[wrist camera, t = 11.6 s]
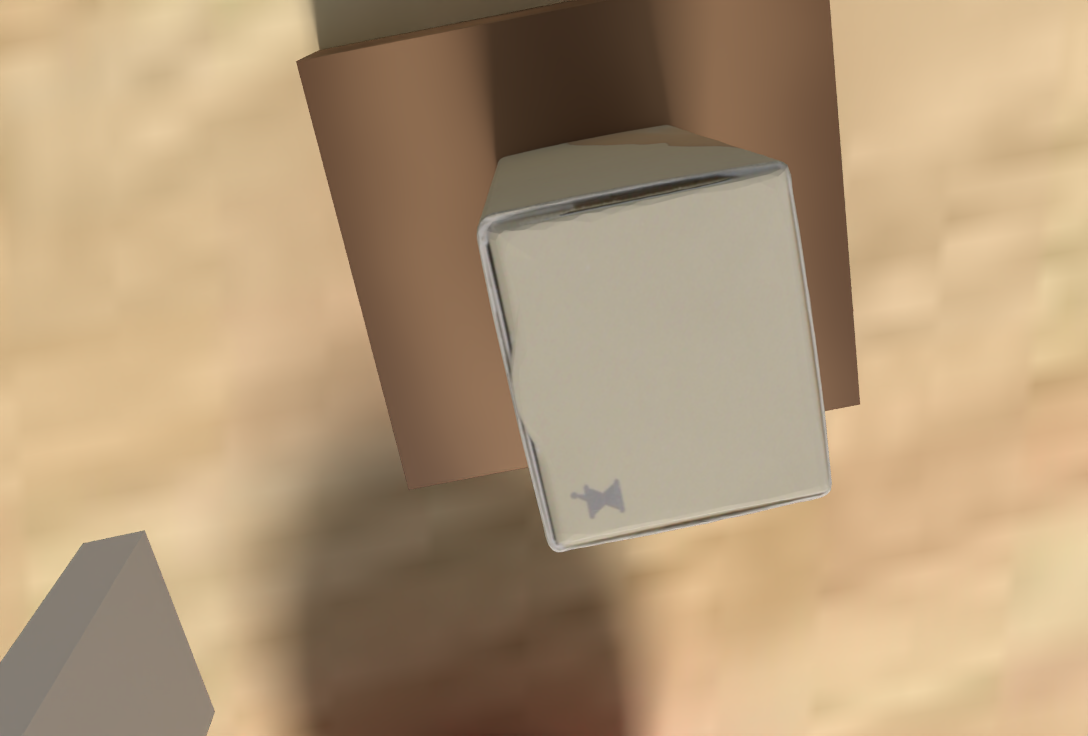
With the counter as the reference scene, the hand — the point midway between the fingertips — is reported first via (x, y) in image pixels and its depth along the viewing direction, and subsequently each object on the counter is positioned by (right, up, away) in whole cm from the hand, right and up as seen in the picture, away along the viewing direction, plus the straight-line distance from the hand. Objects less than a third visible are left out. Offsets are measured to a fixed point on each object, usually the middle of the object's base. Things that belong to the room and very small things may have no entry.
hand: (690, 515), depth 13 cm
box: (0, +5, +12) cm, 13 cm away
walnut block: (-1, +6, +16) cm, 17 cm away
